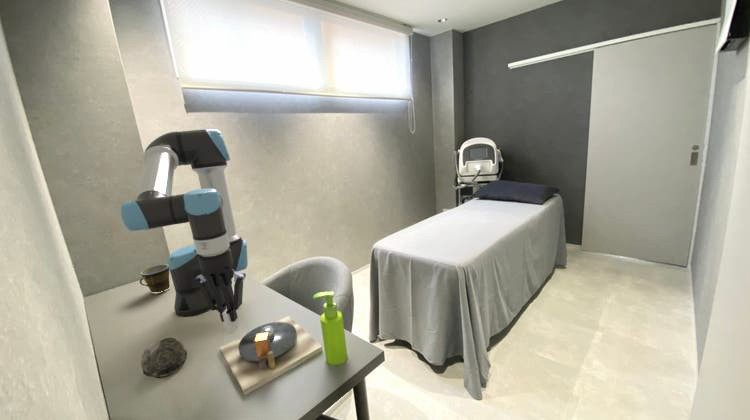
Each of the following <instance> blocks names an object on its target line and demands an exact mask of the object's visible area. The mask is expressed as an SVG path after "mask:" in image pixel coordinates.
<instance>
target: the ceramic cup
mask: <svg viewBox="0 0 750 420" xmlns="http://www.w3.org/2000/svg"><path fill="white" fill-rule="evenodd" d="M140 275H141V278H140V280H139V284H140V285H141V286H146V287H148V288H149V291H150V293H151V292H161V291H164V290H166V289H168V288H169V287H170V270H169V264H163V263H162V264H157V265H154V266H150V267H148V268H147V267H146V268H144V269H143V270H142V271H140ZM143 281H144V282H145V283H143Z"/></svg>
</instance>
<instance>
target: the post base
mask: <svg viewBox="0 0 750 420" xmlns="http://www.w3.org/2000/svg"><path fill="white" fill-rule="evenodd" d="M275 322H285V323H289V324H291V325H293V326H294V327H295V329H296V333H297V341H296V343H295V345H294V346H293V348H292V349H291V350H290V351H288V352H287V353H286V354H284V355H283V356H281V357H279V358H277V359H275V360H274V355H273V352H272V351H269V352H268V353H267V359H268V364H267V367H265V368H259V363H250V362H247V361H245V360H243V359H242V358H241V356H240V353H239V343H240V341H241V340H242V338H243V337H244V336H245V335H243V336H241V337H239V338H237V339H234V340H233V341H231V342H228V343H226V344H224V345H222V346H219V351H220V353H221V355H222V356H223V359H224V361H225V362H226V364H227V366H228V367H229V369H230V371H231V373H232V374H233V377H234V378H235V380H236V382H237V384H238V385H239V388H240V389H241V390H242V392H243V394H244V396H246V395H248V394H250V393H251V392H253V391H256V390H257V389H258V388H260V387H262V386H264V385H265V384H267V383H269V382H270V381H273V380H274V379H276V378H278V377H279V376H281V375H283V374H285V373H286V372H287V373H288V371H290V370H292V369H293V368H295V367H297V366H299V365H301V364H302V363H304V362H305V361H308V360H309V359H311V358H312V357H315V356H317V355H318V354H319V353H321V352H323V346H322V345H321V344H320V343H319V342H318V341H316V340H315V339H314V338H313V336H311V335H310V334H309V333H308V332H306V330H305V329H304V328H302V327H301V326H300V325H299V324H298V323H297V322H296V321H295V320H294V319H292V317H291V316H289V315H287V316H285V317H283V318H280V319H278V320H277V321H275ZM314 355H315V356H314ZM307 359H308V360H307Z"/></svg>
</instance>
